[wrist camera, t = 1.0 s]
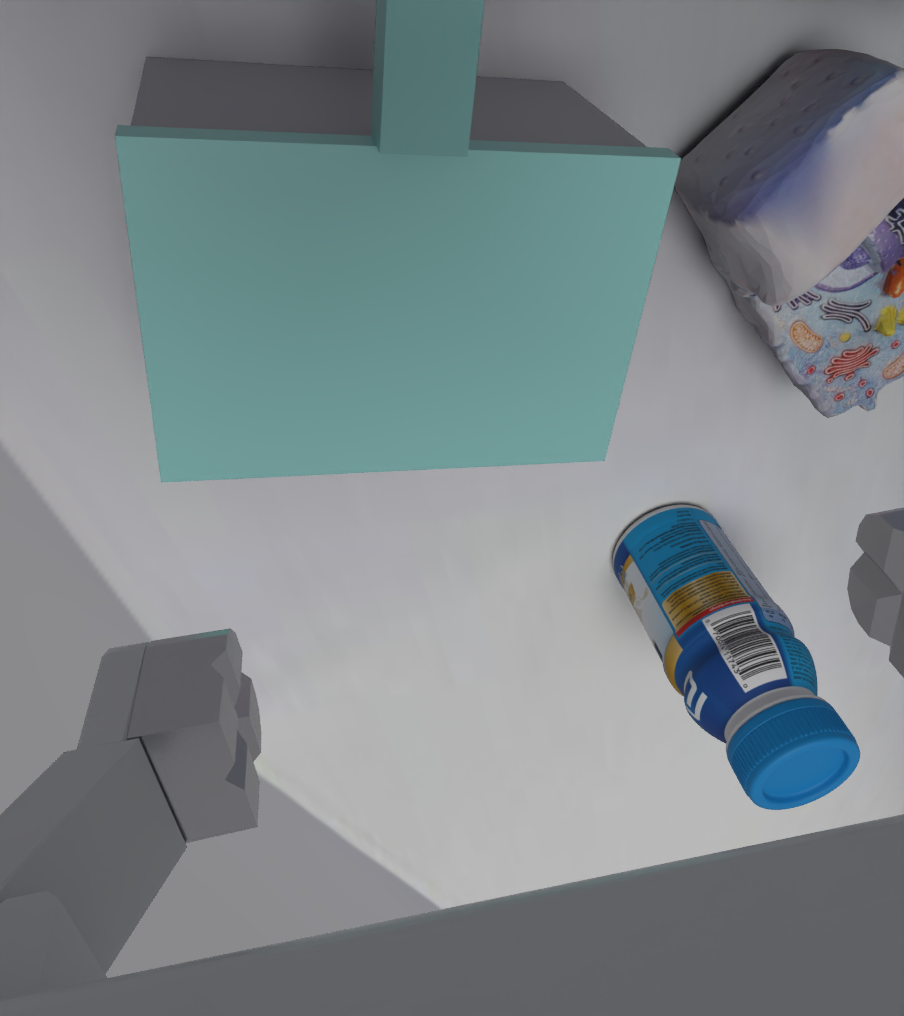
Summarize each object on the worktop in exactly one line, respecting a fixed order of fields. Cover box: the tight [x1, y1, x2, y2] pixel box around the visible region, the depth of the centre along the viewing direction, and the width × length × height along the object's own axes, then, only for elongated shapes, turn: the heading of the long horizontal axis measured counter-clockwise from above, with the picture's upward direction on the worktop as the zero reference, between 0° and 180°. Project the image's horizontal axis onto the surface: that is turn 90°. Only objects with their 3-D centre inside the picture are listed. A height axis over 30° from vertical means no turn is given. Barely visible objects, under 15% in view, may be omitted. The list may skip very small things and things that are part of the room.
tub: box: [131, 57, 646, 147], centre depth 39 cm, size 13×19×12 cm
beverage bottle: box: [613, 505, 860, 810], centre depth 56 cm, size 8×8×20 cm
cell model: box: [674, 49, 904, 418], centre depth 45 cm, size 13×11×20 cm
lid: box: [115, 0, 681, 482], centre depth 32 cm, size 19×20×2 cm
